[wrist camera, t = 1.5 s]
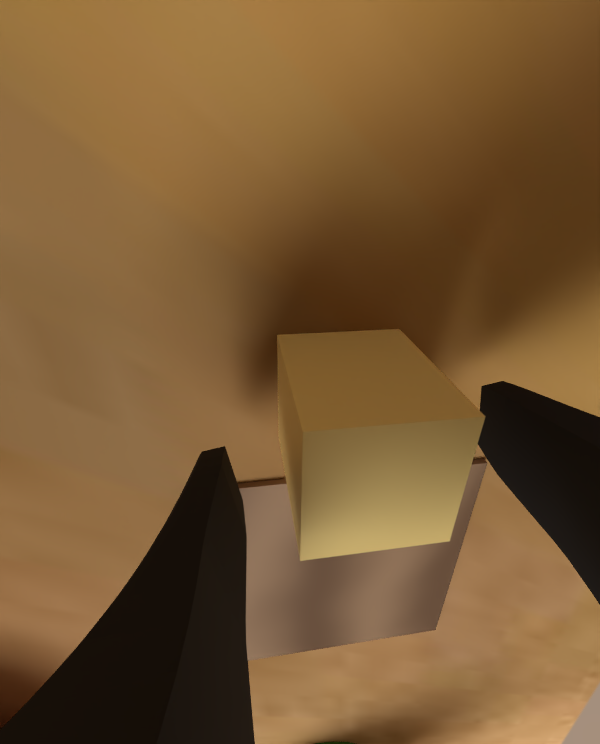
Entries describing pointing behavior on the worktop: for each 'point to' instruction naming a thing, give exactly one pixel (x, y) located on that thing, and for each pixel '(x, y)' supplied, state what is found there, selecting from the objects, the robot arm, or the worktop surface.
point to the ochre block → (370, 442)
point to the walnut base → (339, 580)
